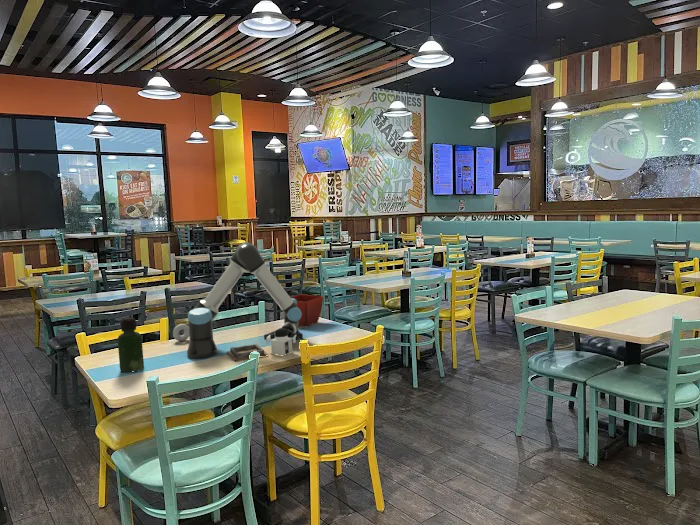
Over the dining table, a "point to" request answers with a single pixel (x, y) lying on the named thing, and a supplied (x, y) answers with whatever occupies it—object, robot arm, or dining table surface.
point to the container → (281, 342)
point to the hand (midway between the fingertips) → (280, 340)
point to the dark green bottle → (130, 346)
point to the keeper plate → (244, 352)
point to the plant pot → (309, 308)
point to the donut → (178, 328)
